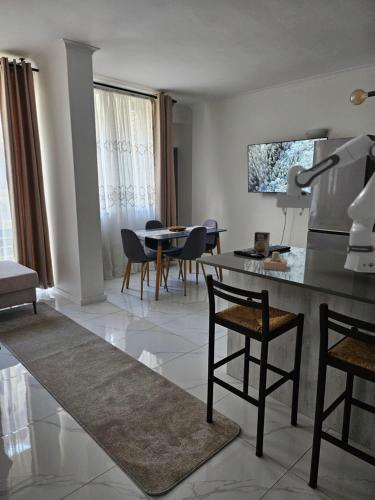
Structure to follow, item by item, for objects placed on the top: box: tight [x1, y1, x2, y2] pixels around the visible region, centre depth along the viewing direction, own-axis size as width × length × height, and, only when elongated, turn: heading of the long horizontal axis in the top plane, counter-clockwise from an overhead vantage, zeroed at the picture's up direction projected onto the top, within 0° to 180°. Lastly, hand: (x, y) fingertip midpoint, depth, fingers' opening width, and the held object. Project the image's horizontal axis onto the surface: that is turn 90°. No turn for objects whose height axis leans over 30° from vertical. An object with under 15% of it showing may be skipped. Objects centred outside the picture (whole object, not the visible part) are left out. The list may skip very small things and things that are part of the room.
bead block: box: [262, 257, 288, 272], centre depth 202 cm, size 12×12×4 cm
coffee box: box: [253, 231, 271, 258], centre depth 234 cm, size 9×6×16 cm
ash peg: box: [271, 251, 281, 262], centre depth 202 cm, size 4×4×9 cm
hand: (292, 215), depth 214 cm, fingers open, 8 cm apart
